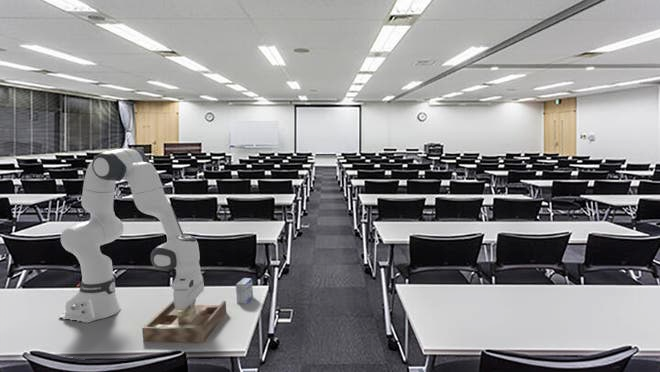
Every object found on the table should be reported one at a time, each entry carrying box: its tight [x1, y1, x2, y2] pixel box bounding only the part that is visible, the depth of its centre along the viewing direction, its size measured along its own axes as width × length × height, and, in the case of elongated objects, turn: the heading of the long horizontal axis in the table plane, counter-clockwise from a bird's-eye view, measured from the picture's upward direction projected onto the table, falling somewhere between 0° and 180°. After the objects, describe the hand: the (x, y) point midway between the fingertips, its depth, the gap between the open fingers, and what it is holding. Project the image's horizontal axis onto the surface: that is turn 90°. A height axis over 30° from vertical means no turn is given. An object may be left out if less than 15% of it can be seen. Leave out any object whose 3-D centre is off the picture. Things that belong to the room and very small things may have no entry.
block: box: [177, 307, 196, 322], centre depth 166 cm, size 5×5×4 cm
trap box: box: [141, 299, 227, 344], centre depth 167 cm, size 22×25×5 cm
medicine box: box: [235, 277, 254, 305], centre depth 191 cm, size 8×4×9 cm, turn 168°
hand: (191, 311), depth 171 cm, fingers closed
